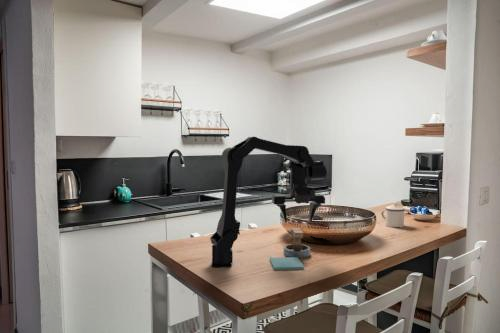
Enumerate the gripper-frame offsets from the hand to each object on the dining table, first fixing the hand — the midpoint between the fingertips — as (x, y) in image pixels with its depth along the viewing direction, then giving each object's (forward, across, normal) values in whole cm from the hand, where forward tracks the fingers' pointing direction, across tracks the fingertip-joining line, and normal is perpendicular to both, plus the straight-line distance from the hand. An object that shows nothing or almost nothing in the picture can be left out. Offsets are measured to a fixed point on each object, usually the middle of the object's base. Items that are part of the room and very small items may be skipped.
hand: (298, 222), depth 131 cm
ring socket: (+12, 0, +1) cm, 12 cm away
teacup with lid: (+12, +58, +43) cm, 74 cm away
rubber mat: (+12, -6, -10) cm, 17 cm away
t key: (+12, 0, +1) cm, 12 cm away
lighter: (+12, +14, +24) cm, 30 cm away
